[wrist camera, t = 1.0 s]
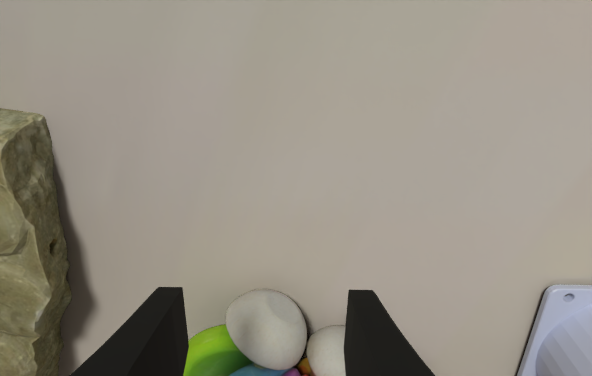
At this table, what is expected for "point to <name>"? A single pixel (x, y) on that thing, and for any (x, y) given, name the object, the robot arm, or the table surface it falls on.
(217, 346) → the multicoloured spiky piece
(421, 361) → the robot arm
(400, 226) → the table surface
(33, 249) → the folded green towel
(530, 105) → the table surface
